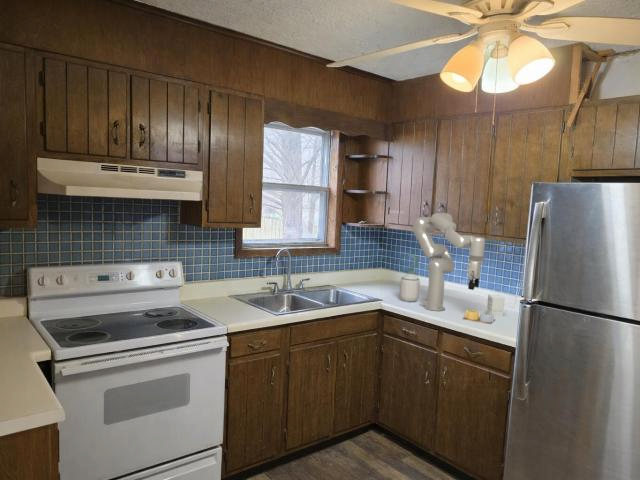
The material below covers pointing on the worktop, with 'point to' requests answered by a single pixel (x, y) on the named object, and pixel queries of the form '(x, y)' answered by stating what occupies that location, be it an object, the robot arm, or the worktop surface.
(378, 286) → the worktop surface
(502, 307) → the supplement box
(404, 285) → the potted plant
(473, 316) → the ochre gear
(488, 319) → the slate gear
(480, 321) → the gear board
